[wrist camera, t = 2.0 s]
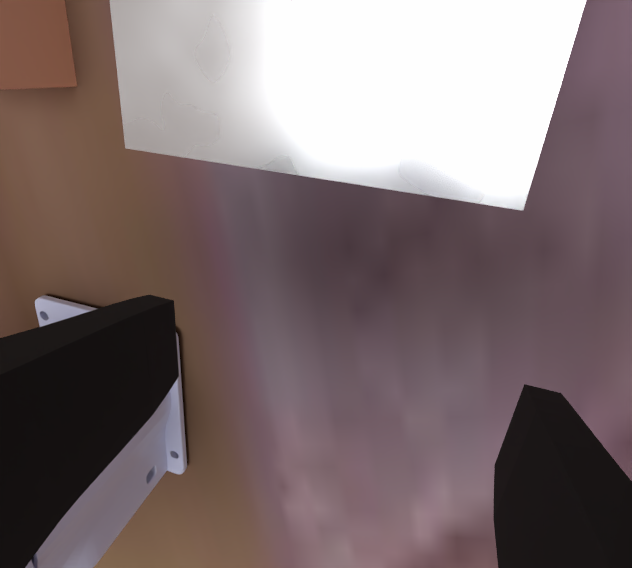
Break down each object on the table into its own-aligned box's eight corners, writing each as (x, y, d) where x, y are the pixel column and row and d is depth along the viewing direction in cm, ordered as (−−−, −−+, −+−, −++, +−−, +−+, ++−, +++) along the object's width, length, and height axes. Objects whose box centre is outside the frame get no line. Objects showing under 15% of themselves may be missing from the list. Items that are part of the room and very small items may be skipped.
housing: (510, 189, 15) (534, 262, 9) (228, 148, 17) (112, 186, 11) (586, -83, 11) (695, -222, 6) (226, -89, 14) (66, -194, 8)
